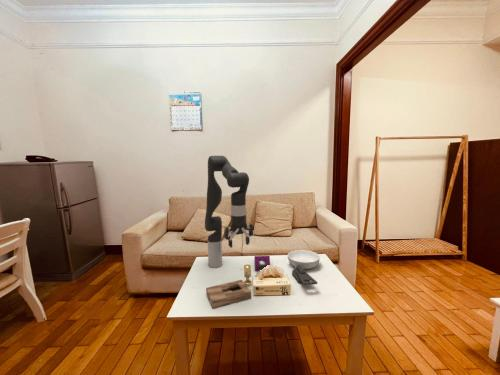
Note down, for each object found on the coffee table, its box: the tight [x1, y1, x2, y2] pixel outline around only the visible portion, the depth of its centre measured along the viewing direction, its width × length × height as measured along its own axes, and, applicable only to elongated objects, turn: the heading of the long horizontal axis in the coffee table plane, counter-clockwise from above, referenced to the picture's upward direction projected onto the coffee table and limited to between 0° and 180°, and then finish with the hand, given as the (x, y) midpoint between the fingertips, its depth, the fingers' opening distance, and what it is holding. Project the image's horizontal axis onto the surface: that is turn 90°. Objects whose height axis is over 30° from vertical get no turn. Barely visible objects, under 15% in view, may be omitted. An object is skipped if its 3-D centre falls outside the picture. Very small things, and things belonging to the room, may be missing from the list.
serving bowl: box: [287, 249, 321, 270], centre depth 156 cm, size 21×21×7 cm
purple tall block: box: [253, 255, 271, 271], centre depth 157 cm, size 10×8×18 cm
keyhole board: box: [205, 279, 252, 310], centre depth 122 cm, size 13×20×4 cm, turn 114°
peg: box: [243, 264, 253, 287], centre depth 134 cm, size 4×4×11 cm
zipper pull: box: [291, 265, 318, 286], centre depth 135 cm, size 9×7×25 cm
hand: (239, 245), depth 116 cm, fingers open, 8 cm apart
